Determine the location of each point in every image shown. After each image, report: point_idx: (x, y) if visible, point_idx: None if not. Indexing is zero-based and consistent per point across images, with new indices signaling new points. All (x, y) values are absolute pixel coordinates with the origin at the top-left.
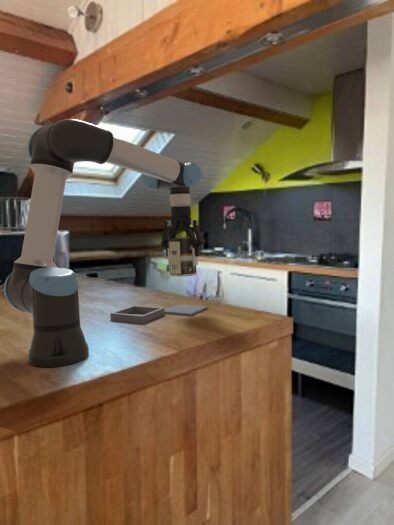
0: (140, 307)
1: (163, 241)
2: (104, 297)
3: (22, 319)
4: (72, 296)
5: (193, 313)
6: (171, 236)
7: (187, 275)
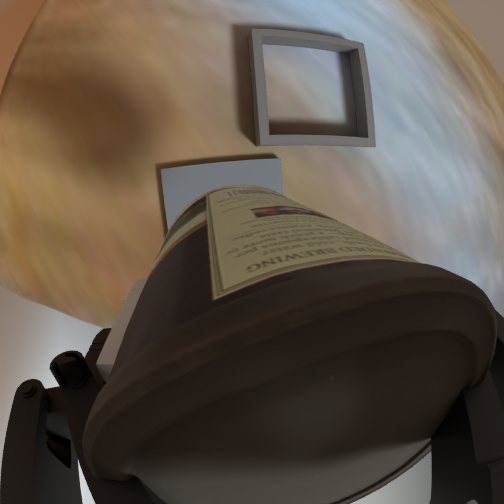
0: (346, 136)
1: (499, 328)
2: (476, 261)
3: (473, 51)
4: None
5: (162, 184)
6: (478, 406)
7: (175, 219)
